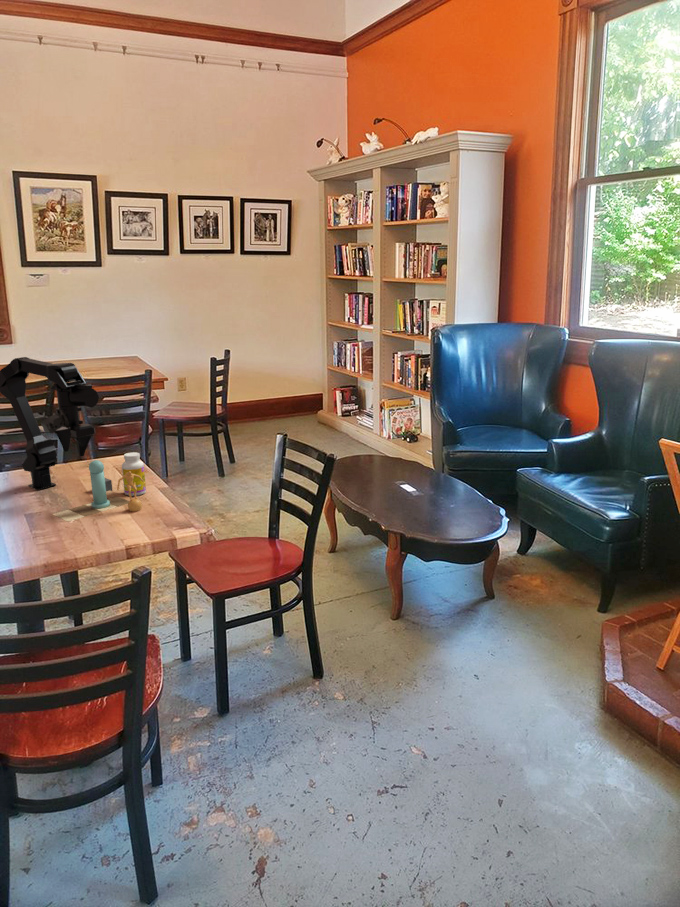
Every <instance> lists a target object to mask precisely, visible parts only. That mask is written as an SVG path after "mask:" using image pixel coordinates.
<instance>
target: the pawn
mask: <svg viewBox="0 0 680 907" xmlns="http://www.w3.org/2000/svg"><path fill="white" fill-rule="evenodd" d="M88 465H89V466H88V471H89V472H90V473H89V476H90V483H91V491H92V497H93V498H92V499H93V501H92V502H90V503H91V506H92V507H91V508H95V509H96V510H97V509H101V508H106V507H108V506H110V501H109V500H107V498H108V497H107V491H106V487H105V478H106V477H105V471H104V469H105V466H104V463H103V462H102V461H100V460H98V459H97V460H92V461H91V462H90V463H89V464H88Z"/></svg>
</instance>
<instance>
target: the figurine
mask: <svg viewBox="0 0 680 907" xmlns="http://www.w3.org/2000/svg"><path fill="white" fill-rule="evenodd" d="M134 477H139V478H140V479H141V481H142V482H144V481H143V479H142V478H141V477H140V476H139V475H135V474H132V473H131V472H130V471H129V472H127V473H126V474H125V475H124V476H123V475H122V477H120V478H119V479H118V480H117V487H116V489H117V490H116V491H120V490H119V489H120V483H121V481H123V479H124V478H126V480H127V482H128V484H126V487H127V489H128V491H129V499H130V500H128V501H129V503H128V504H127V509H128V510H129V511H130V512H135V513H136V512H139V511H141V510H142V507H143V504H142V501H141V500H140V499H139V498H138V497H137V496H136V492H137V488H136V485H135V483H133V478H134ZM144 484H146V481H145V482H144ZM131 487H133V489H134V490H135V491H134V496H131ZM133 497H134V498H133Z"/></svg>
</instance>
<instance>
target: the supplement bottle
mask: <svg viewBox="0 0 680 907" xmlns="http://www.w3.org/2000/svg"><path fill="white" fill-rule="evenodd" d="M140 457H141V455H140V452H133V451H132V452H127V453H124V454H123V460H124V462H123V463H122V464H121V472H122V477H123V476H124V475H125V474H126V473H127V472H129V471H130V472H131V473H132V474H135V475H139V476H140V477H141V478H142V479H143V481H144V482H145V484H144V482H142V481H141V479H140V478H139V477H134V478H133V483H135V485H136V488H137V492H136V497H137V496H142V495H144V494H146V492H147V486H146V484H147V483H146V476H145V475H146V474H145V465H144V462H143V461H142V460H140V459H141V458H140ZM122 482H123V483H122V484H123V492H124V494H125V495H126V496H129V491H128V489H127V487H126V484H128V482H127V480H126V478H124V479H122ZM134 491H135V490H134V489H133V487H131V497H135V496H134ZM129 497H130V496H129Z"/></svg>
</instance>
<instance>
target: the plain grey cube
mask: <svg viewBox="0 0 680 907" xmlns="http://www.w3.org/2000/svg"><path fill="white" fill-rule="evenodd" d="M104 478H105V487H106V492H109V491H110V492H113V482H112V479H109V478H107V477H104Z"/></svg>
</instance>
